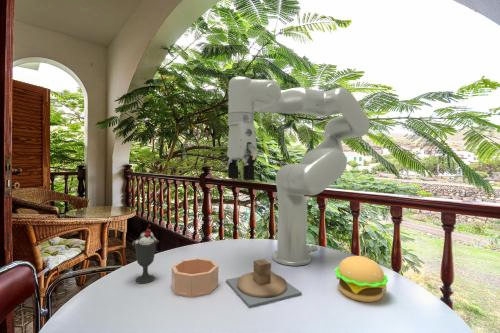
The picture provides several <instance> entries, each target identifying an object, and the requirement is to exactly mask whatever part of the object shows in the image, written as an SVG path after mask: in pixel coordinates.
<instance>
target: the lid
mask: <svg viewBox="0 0 500 333" xmlns="http://www.w3.org/2000/svg"><path fill="white" fill-rule="evenodd" d="M252 270H253V271H252V272H248V273H245V274H243V275H240V276H239V279H238V280H237V288H238V290H239V291H240V292H242V293H243V294H245V295H248V296H251V297H256V298H272V297H276V296H279V295H281V294H283V293H284V292H285V291H286V289H287V283H286V282H287V281H286V279H285V278H284V277H282V276H281V275H278V274H276V273H275V274H273V273H271V270H272V263H271V262H270V261H268V260H267V259H265V258H264V259H263V258H262V259H256V260H253V269H252Z"/></svg>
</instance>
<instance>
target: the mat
mask: <svg viewBox="0 0 500 333" xmlns="http://www.w3.org/2000/svg"><path fill="white" fill-rule="evenodd" d="M271 273H273V274H276V273H275V272H274V271H271ZM239 277H240V276H239ZM239 277H233V278H227V279H225V282H226V284H227V285H228V286H229V287H230V288H231V290H232V291H234V293H235V294H236V295H237V297H238V298H239V299H240V300H241V301H242V302H243V303H244V304H245V305H246V306H247V307H248V309H251V308H255V307H256V308H257V307H259V306H263V305H268V304H271V303H276V302H279V301H280V302H281V301H284V300H287V299H291V298H295V297H296V298H297V297H299V296H302V294H303V293H302V291H300V290H299V289H297V287H294V286H293V285H292V284H291V283H289V282H288V281H286V283H287V289H286V291H285V292H284V293H283V294H281V295H279V296H276V297H272V298H256V297H251V296H248V295H245V294H243V293H242V292H240V291H239V290H238V288H237V280H238V279H239Z"/></svg>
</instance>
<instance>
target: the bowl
mask: <svg viewBox="0 0 500 333" xmlns="http://www.w3.org/2000/svg"><path fill="white" fill-rule="evenodd" d="M170 286H171V290H172V292H173V293H174V295H177V296H182V297H186V298H195V297H201V296H205V295H210V294H211V293H212V292H214V291H215V289H217V288H218V287H219V265H218V264H217V263H216V262H215V260H214V259H208V258H206V259H205V258H200V257H196V258H190V259H183V260H181V261H178V262H177V263H175V264H173V265H172V266H171V285H170Z"/></svg>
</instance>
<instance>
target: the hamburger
mask: <svg viewBox="0 0 500 333" xmlns="http://www.w3.org/2000/svg"><path fill="white" fill-rule="evenodd" d="M334 273H335V275H336V280H339V281H338V284H337V285H338V289H339V290H340V292H341V293H342V294H343V295H344V296H346V297H348V298H350V299H352V300H354V301H358V302H363V303H373V302H377V301H380V300H381V299H382V298H383V296H384V291H385V292H386V291H387V288H388V287H387V283H388V282H389V280H388V276H387V275H386V274H384V273H385V272H384V271H383V269H382V267H381V266H380V265H379V264H378V263H377V262H376V261H375V260H373V259H370V258H368V257H365V256H362V255H361V256H360V255H353V256H348V257H346V258H344V259H342V260H341V261H340V263H339V265H338V266H337V267H335V270H334Z"/></svg>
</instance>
